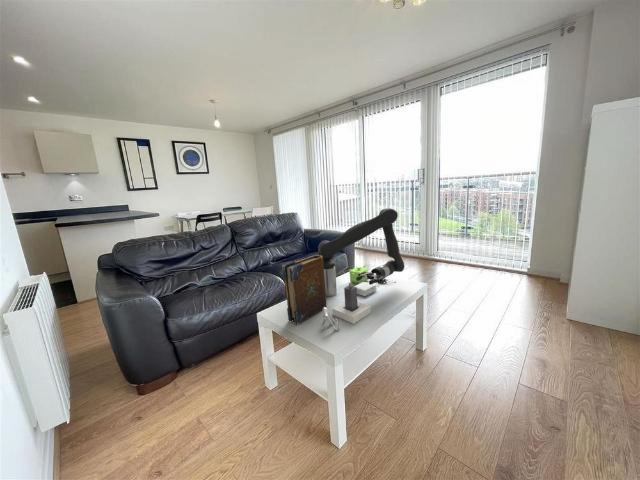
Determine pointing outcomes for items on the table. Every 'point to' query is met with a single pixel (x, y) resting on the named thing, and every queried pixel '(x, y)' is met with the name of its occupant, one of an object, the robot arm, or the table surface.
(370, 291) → the photo printer
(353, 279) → the teapot
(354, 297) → the plug
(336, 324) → the portable electronic device stand
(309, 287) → the decorative book
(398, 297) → the table surface
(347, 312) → the socket
